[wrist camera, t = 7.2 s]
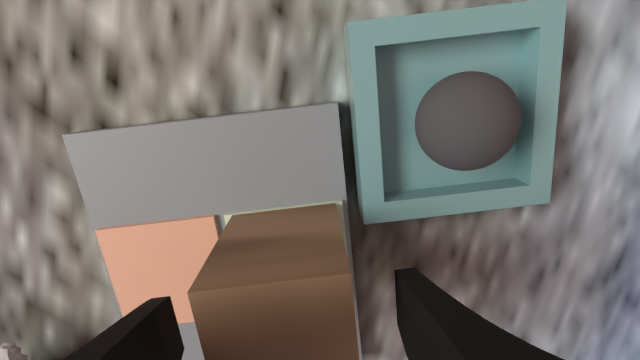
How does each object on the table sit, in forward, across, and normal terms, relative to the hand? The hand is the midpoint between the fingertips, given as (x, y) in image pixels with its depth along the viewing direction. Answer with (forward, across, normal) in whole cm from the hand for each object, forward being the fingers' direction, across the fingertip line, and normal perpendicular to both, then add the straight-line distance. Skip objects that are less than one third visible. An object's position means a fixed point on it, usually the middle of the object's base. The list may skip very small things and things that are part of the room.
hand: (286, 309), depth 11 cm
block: (+3, 0, 0) cm, 3 cm away
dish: (+4, -6, -5) cm, 9 cm away
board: (+4, +2, 0) cm, 5 cm away
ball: (+3, -6, -5) cm, 9 cm away
